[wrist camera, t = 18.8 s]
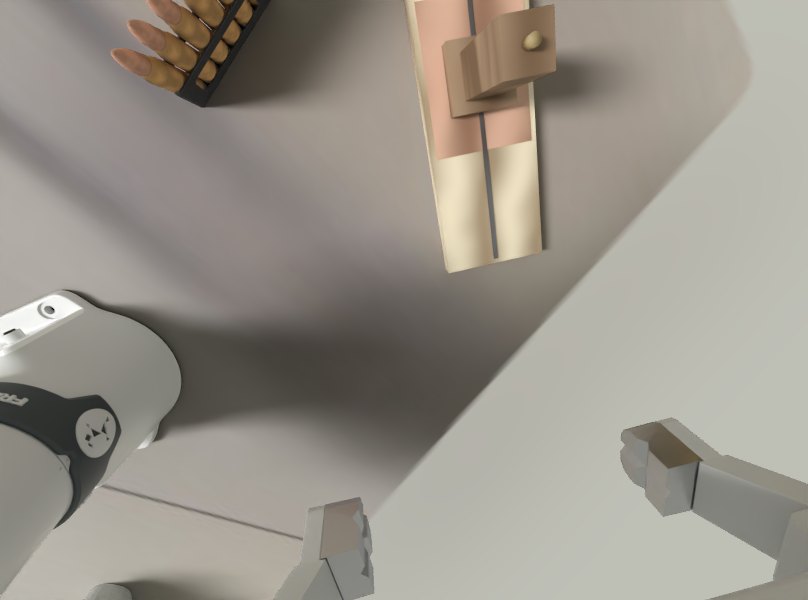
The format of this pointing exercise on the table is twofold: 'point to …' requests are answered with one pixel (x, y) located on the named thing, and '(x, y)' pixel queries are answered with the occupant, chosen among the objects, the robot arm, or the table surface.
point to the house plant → (109, 593)
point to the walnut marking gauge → (499, 60)
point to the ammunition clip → (214, 46)
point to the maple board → (475, 145)
